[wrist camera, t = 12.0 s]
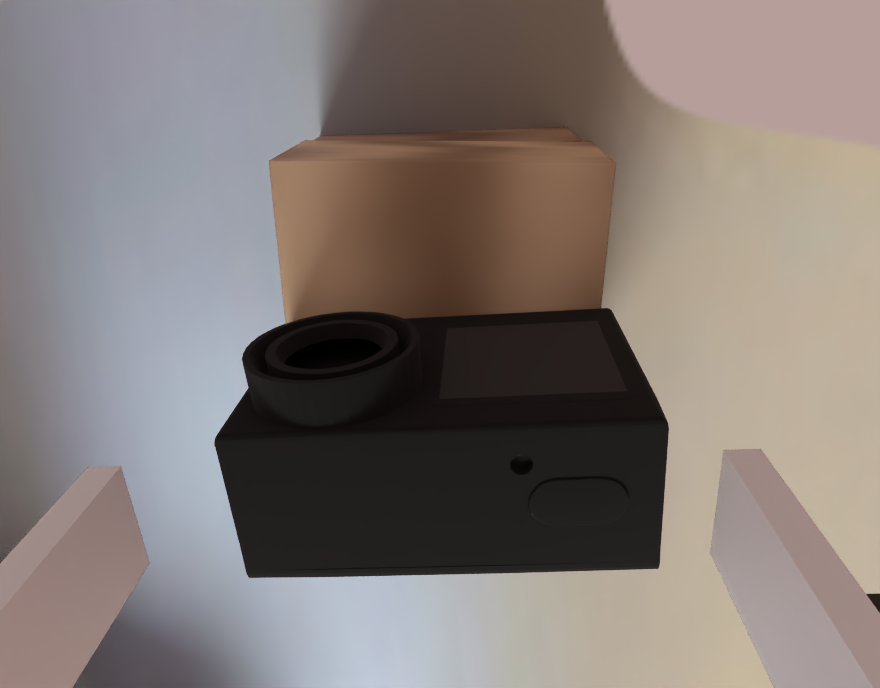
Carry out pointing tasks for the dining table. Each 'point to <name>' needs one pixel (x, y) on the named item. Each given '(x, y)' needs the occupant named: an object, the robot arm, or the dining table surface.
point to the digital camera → (445, 447)
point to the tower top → (441, 226)
